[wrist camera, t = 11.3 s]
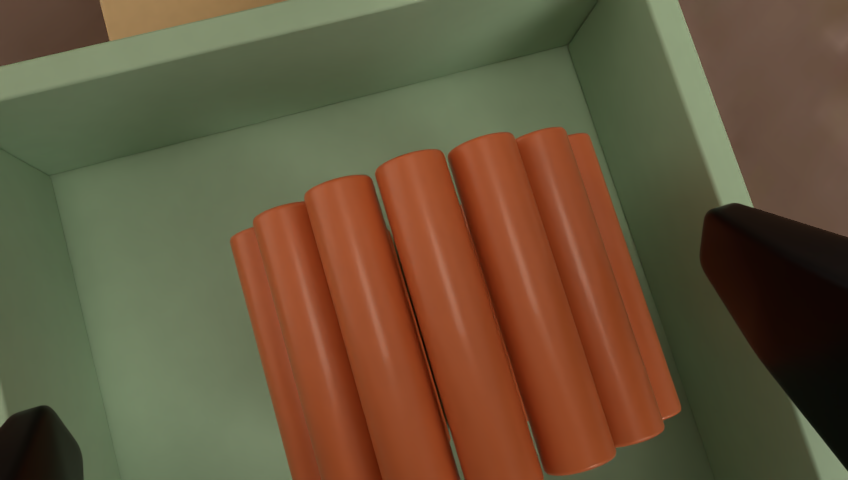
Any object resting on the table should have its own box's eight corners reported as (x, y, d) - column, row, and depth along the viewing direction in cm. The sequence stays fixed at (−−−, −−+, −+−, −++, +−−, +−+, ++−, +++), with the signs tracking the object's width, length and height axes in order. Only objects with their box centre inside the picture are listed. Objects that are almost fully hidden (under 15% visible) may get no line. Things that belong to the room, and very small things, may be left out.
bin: (759, 564, 16) (916, 648, 11) (169, 782, 14) (80, 981, 10) (575, 26, 17) (648, -85, 13) (28, 163, 16) (-104, 88, 11)
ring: (544, 400, 16) (775, 389, 10) (268, 503, 13) (369, 569, 8) (485, 212, 17) (672, 100, 11) (210, 274, 14) (261, 172, 8)
